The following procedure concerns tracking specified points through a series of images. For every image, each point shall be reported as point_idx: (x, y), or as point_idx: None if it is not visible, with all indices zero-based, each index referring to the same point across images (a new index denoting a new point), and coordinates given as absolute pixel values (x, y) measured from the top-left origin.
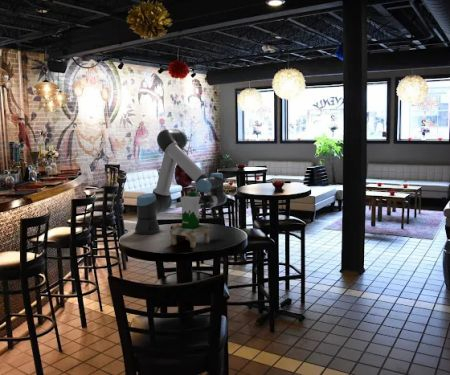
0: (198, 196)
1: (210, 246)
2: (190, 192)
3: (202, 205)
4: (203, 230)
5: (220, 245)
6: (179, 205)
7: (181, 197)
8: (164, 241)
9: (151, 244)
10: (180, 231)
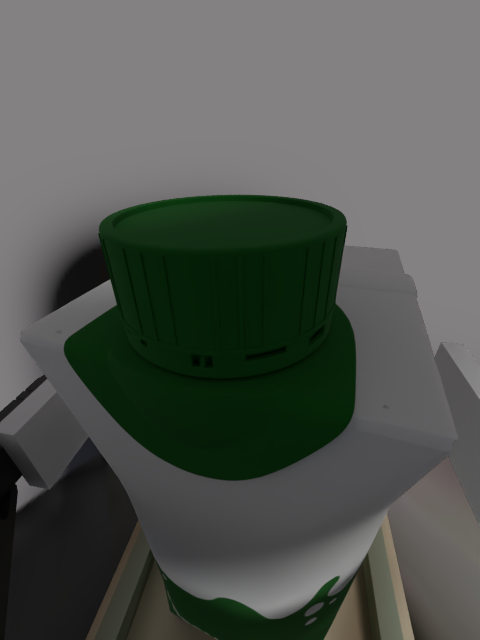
0: (57, 332)
1: (93, 556)
2: (329, 226)
3: (44, 375)
4: (123, 559)
5: (12, 621)
6: (453, 421)
7: (362, 250)
8: (468, 593)
9: (444, 479)
10: None
